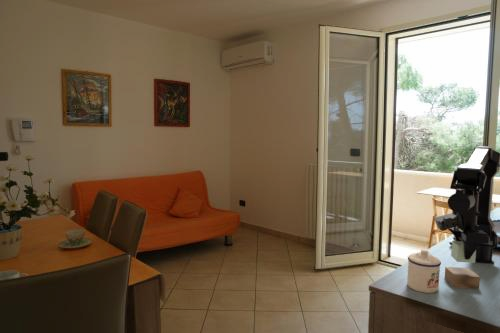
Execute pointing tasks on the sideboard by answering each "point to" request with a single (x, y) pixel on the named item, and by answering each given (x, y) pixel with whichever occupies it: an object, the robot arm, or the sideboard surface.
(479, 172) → the robot arm
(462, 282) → the walnut block
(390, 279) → the sideboard surface
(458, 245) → the green cube
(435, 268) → the teacup with lid
